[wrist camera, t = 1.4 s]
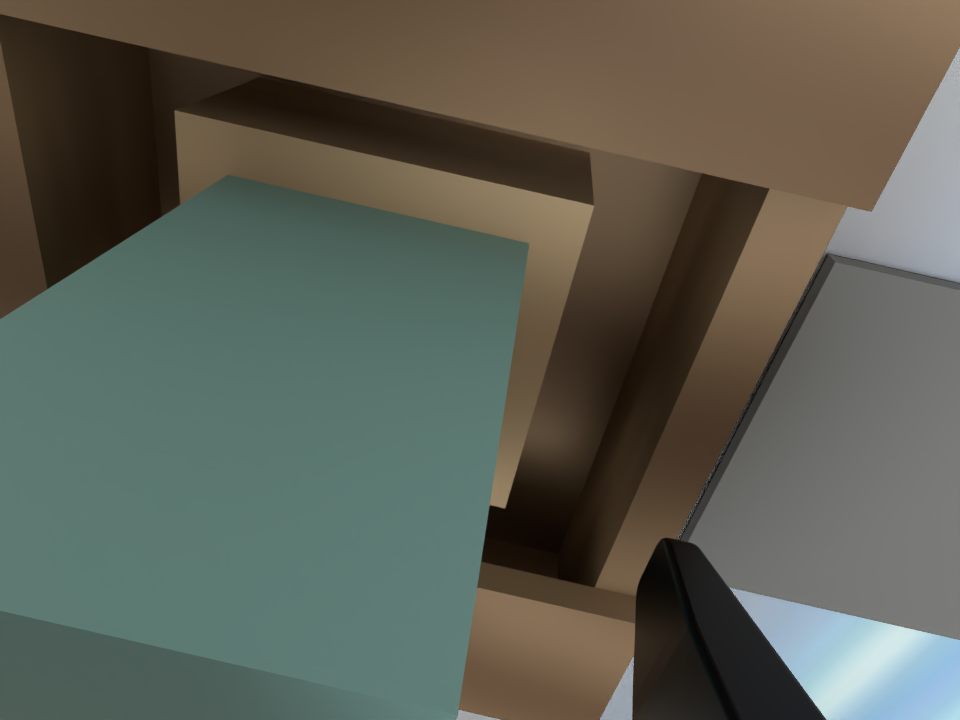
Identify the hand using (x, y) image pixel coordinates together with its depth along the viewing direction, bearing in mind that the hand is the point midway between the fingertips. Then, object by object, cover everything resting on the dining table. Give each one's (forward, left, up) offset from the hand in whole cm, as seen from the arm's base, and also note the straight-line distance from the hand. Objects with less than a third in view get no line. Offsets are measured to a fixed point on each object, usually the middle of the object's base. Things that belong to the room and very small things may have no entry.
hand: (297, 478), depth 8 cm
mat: (-2, -12, -7) cm, 14 cm away
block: (0, 0, -3) cm, 3 cm away
